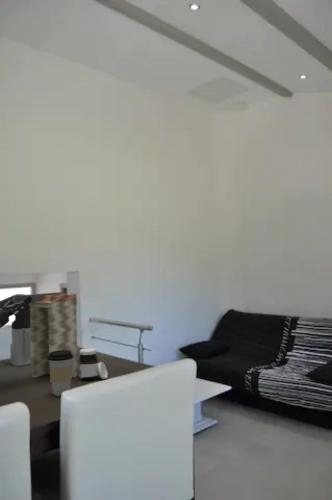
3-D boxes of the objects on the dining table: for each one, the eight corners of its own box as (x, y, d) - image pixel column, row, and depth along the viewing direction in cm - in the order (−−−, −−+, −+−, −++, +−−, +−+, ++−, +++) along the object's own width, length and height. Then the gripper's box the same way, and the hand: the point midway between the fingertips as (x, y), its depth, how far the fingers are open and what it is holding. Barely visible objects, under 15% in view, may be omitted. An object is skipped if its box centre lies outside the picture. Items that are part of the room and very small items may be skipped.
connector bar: (14, 303, 173) (14, 296, 173) (12, 303, 175) (12, 295, 175) (62, 299, 186) (62, 292, 186) (59, 299, 188) (59, 292, 188)
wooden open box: (52, 383, 171) (50, 296, 171) (30, 376, 181) (28, 295, 182) (78, 375, 180) (76, 294, 181) (56, 370, 191) (54, 293, 192)
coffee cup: (79, 390, 160) (78, 350, 160) (65, 398, 151) (64, 355, 151) (57, 388, 163) (56, 349, 163) (42, 396, 154) (41, 354, 155)
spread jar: (77, 376, 180) (76, 348, 180) (103, 373, 184) (103, 345, 184) (82, 383, 169) (81, 354, 169) (110, 380, 173) (109, 351, 173)
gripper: (-3, 314, 159) (30, 290, 170) (-21, 312, 168) (12, 289, 179) (7, 330, 162) (39, 305, 173) (-11, 327, 171) (20, 304, 182)
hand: (25, 297), depth 176 cm, fingers open, 8 cm apart
